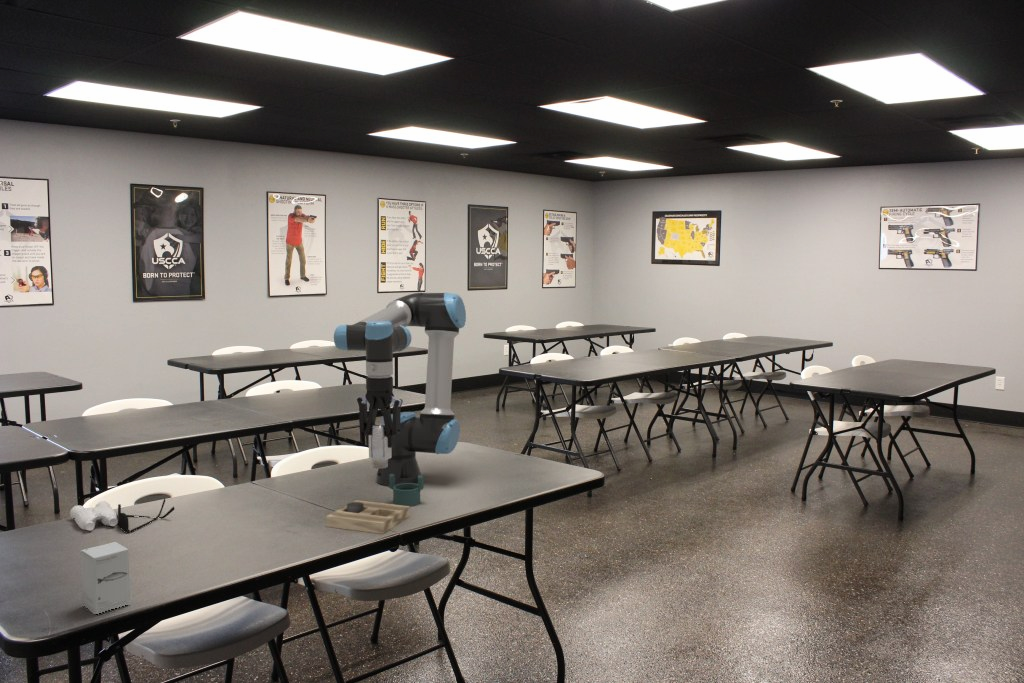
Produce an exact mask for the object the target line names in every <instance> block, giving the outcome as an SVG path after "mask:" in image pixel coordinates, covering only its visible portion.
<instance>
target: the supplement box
mask: <svg viewBox="0 0 1024 683" xmlns="http://www.w3.org/2000/svg"><path fill="white" fill-rule="evenodd" d="M129 553H130V552H129V549H128V548H127V547H125V546H123V545H122V544H120V543H118V542H117V541H114V542H113V541H112V542H110V543H104V544H101V545H98V546H92V547H89V548H85V549H81V550H80V554H79V556H80V570H81V571H80V573H81V594H82V595H81V596H82V599H81V600H82V606H83V605H84V606H86V607H87V608H88V609H89V610H90V611H92V612H93V613H94V614H98V615H100V614H99V613H101V614H103V613H102V612H104V613H106V612H105V611H107V612H109V611H108V610H110V611H112V610H111V609H114V610H116V609H115V608H117V609H120V608H123V607H122V606H124V607H126V606H125V605H128V606H130V605H131V584H130V557H129V556H130V554H129ZM129 604H130V605H129ZM84 606H83V607H84ZM119 607H120V608H119ZM88 609H87V610H88ZM89 610H88V611H89ZM90 611H89V612H90ZM93 613H92V614H93ZM94 614H93V615H94Z"/></svg>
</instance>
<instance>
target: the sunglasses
mask: <svg viewBox="0 0 1024 683" xmlns="http://www.w3.org/2000/svg"><path fill="white" fill-rule="evenodd" d="M165 503H166V498H164V499H163V501H162V504H161V508H160V510H159V513H158V515H157V516H155V517H156V518H152V519H151V520H149V521H147V522H144V523H143V524H141V525H138V526H137V527H134V528H132V529H131V530H130V529H129V526H130V525H129V523H130V522H129V518H135V517H134V516H137V515H133V514H126V513H125V512H122V504H120V503H118V505H117V515H118V523H117V526H118V527H119V528H122V529H123V530H124V531H125V532H126V534H129V533H133V532H135V531H134V530H136V529H138V530H139V528H140V529H141V527H142V528H143V526H144V527H145V525H146V526H148V525H149V523H150V522H151V523H153V522H155V521H156V520H157V518H158V517H159V518H163V519H165V518H166V517H167V516H169V515H170V514H171V513H173V511H175V509H176V508H175V506H172V507H171V508H170V509H169V510H168V511H167V512H166V513H165V514H164V515H163V516H160V515H161V514H162V512H163V509H164V506H165ZM138 516H139V517H149V515H148V516H145V515H138ZM154 520H155V521H154ZM152 521H153V522H152ZM151 523H150V524H151ZM147 524H148V525H147ZM123 530H122V531H123ZM124 531H123V532H124ZM132 531H133V532H132ZM136 531H137V530H136ZM125 532H124V533H125Z"/></svg>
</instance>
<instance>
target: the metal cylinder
mask: <svg viewBox="0 0 1024 683" xmlns="http://www.w3.org/2000/svg"><path fill="white" fill-rule="evenodd" d="M385 435H387V434H386V429H385V424H384V423H381V422H379V423H375V424H372V458H371V460H372V464H371V466H372V468H373V469H378V468H386V467H388V459H387V460H384V437H385Z"/></svg>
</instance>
